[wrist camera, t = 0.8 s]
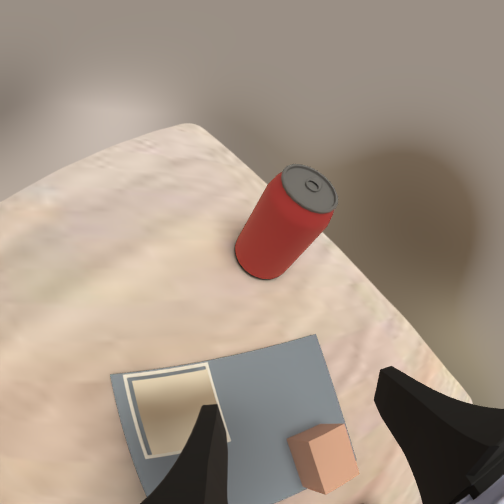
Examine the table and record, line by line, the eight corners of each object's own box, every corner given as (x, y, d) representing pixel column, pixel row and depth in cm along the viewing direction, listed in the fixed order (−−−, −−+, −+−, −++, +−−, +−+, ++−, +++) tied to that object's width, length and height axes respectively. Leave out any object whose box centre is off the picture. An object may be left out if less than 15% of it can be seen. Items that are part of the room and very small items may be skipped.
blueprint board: (351, 459, 22) (357, 460, 21) (163, 529, 13) (164, 533, 12) (311, 335, 29) (316, 333, 28) (111, 375, 20) (109, 374, 19)
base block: (218, 435, 20) (227, 438, 17) (152, 448, 17) (152, 454, 15) (200, 373, 22) (207, 369, 20) (134, 383, 20) (132, 380, 17)
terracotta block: (334, 469, 20) (359, 473, 17) (302, 486, 19) (325, 494, 15) (319, 423, 23) (344, 423, 20) (286, 438, 21) (308, 441, 18)
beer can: (295, 259, 34) (352, 197, 24) (264, 292, 30) (325, 230, 20) (256, 223, 35) (300, 152, 25) (221, 251, 31) (261, 174, 21)
